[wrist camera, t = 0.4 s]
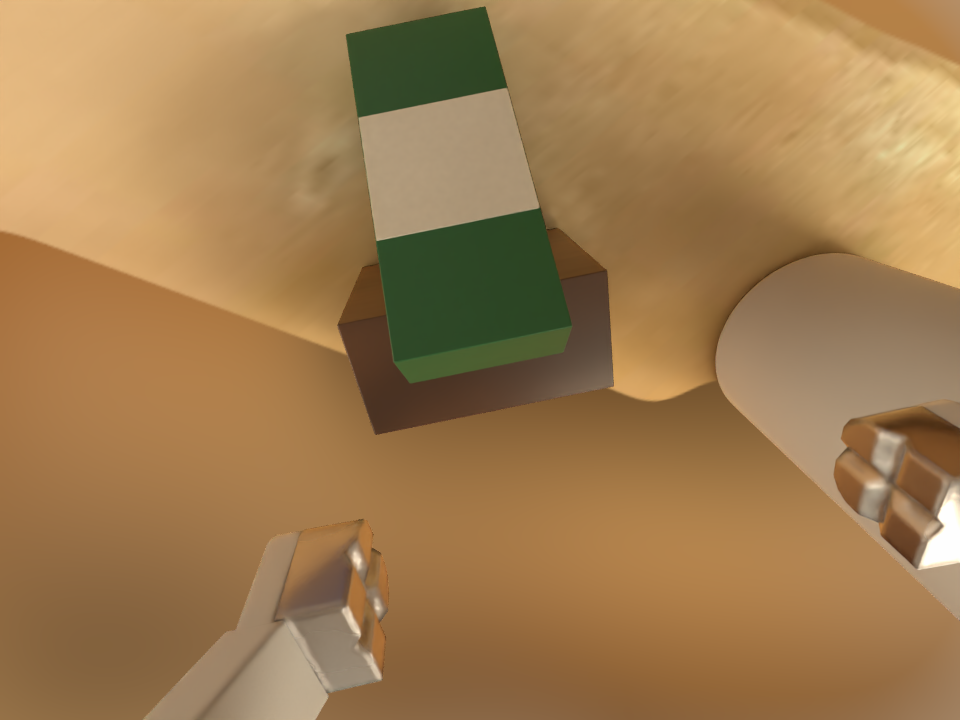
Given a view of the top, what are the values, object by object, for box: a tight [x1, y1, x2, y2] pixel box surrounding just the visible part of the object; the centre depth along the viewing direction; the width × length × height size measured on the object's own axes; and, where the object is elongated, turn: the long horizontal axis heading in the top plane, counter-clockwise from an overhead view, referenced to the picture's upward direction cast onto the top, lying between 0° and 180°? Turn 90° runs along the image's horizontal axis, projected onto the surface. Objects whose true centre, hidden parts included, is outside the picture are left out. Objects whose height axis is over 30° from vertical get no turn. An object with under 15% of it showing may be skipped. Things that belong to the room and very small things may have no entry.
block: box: [337, 228, 614, 435], centre depth 26 cm, size 6×12×9 cm, turn 100°
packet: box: [346, 7, 572, 383], centre depth 21 cm, size 13×6×13 cm, turn 10°
